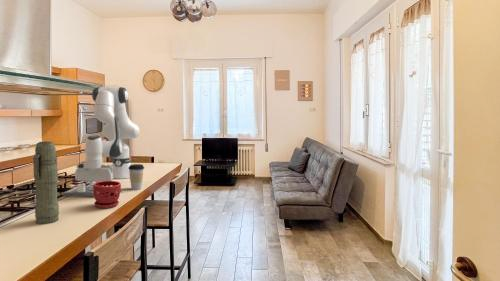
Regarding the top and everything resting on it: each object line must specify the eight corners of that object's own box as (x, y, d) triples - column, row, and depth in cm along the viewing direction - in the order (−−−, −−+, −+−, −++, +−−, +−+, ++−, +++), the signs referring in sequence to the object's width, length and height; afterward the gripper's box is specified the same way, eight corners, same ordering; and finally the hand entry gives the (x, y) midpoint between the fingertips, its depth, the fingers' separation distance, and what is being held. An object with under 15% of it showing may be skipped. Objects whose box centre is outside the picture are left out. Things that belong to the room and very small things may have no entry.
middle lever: (91, 189, 197) (91, 181, 197) (96, 189, 197) (96, 181, 197) (89, 190, 195) (89, 182, 194) (94, 190, 195) (94, 182, 194)
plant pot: (93, 210, 164) (92, 186, 163) (93, 203, 176) (93, 181, 175) (121, 208, 169) (121, 185, 168) (120, 201, 181) (120, 179, 180)
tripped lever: (79, 191, 192) (79, 183, 191) (85, 191, 192) (85, 183, 191) (77, 192, 189) (77, 184, 189) (83, 192, 189) (83, 184, 189)
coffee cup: (129, 191, 203) (129, 166, 202) (127, 187, 212) (127, 164, 210) (145, 189, 208) (145, 166, 206) (142, 186, 216) (142, 163, 215)
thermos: (28, 224, 142) (25, 143, 139) (46, 216, 154) (43, 140, 151) (48, 225, 142) (46, 143, 139) (64, 216, 154) (63, 141, 150)
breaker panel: (77, 189, 204) (77, 186, 204) (107, 190, 204) (107, 186, 204) (63, 196, 188) (63, 192, 188) (95, 197, 188) (95, 193, 188)
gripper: (114, 164, 192) (115, 187, 193) (79, 163, 192) (79, 186, 193) (110, 166, 186) (110, 190, 187) (73, 165, 186) (73, 189, 187)
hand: (94, 188), depth 190 cm, fingers closed
